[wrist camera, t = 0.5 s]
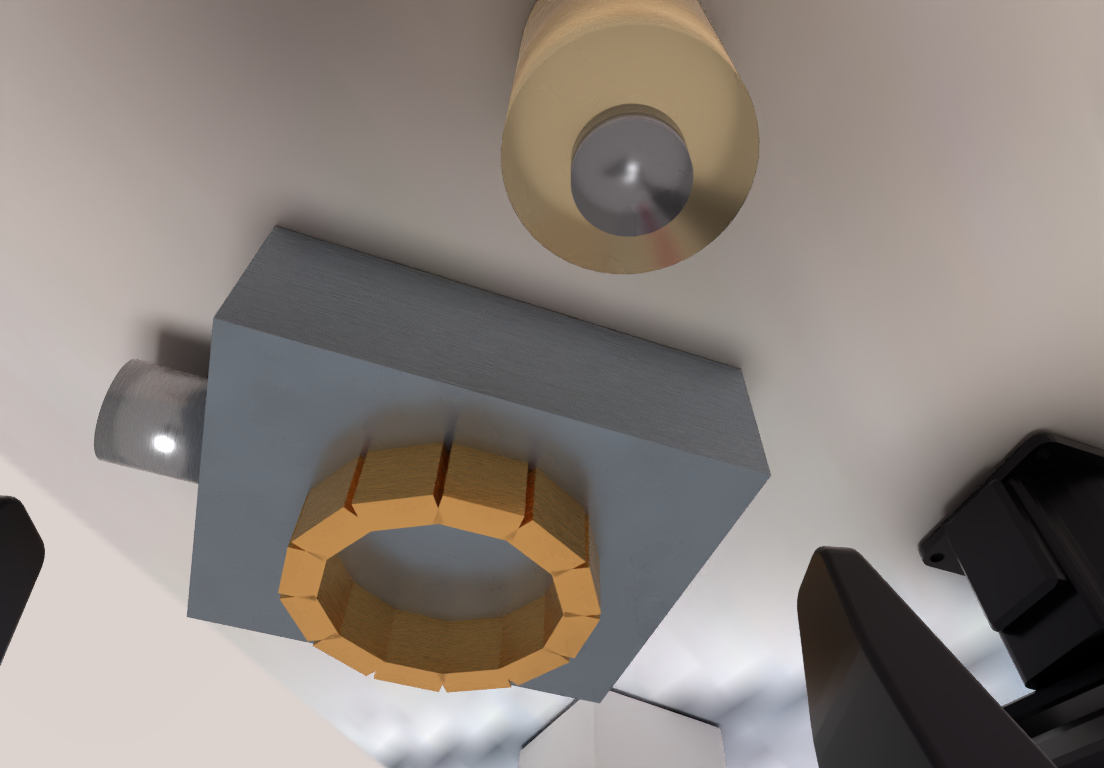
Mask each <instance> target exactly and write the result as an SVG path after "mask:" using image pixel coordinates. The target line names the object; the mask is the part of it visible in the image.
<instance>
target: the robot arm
mask: <svg viewBox="0 0 1104 768" xmlns="http://www.w3.org/2000/svg"><path fill="white" fill-rule="evenodd" d="M1043 448H1044V449H1043ZM919 554H920V556H921V558H922V561H923V562H924V564H925V565H928V566H930V567H934V568H938V569H942V570H945V571H949V572H953V573H956V574H960V575H964V576H966V578H967V580H968V582H969V584H970V586H971V588H972V590H973V592H974V594H975V596H976V598H977V600H978V602H979V604H980V606H981V608H982V610H983V612H984V614H985V616H986V618H987V620H988V623H989V625H990V627H991V628H992V629H993V630H994V631H997V632H998V633H999V635H1000V637H1001V639H1002V641H1003V643H1004V645H1005V647H1006V649H1007V651H1008V653H1009V655H1010V657H1011V659H1012V661H1013V663H1014V665H1015V667H1016V669H1017V671H1018V673H1019V675H1020V677H1021V679H1022V681H1023V683H1024V685H1025V687H1027V688H1029V689H1033V690H1036V691H1034V692H1032V693H1029V694H1027V695H1025V696H1023V697H1021V698H1019V699H1017V700H1014V701H1012V702H1010V703H1008V704H1006V705H1004V706H1000V705H999V704H998V702H997V701H996V700H995V699H994V698H993V697H992V696H991V695H990V694H989V693H988V692H987V690H986V689H985V688H984V687H983V686H982V685H981V684H980V683H979V682H978V681H977V680H976V679H975V677H974V676H973V675H972V674H971V673H970V672H969V671H968V670H967V669H966V668H965V667H964V666H963V664H962V663H961V662H960V661H959V660H958V659H957V658H956V657H955V656H954V655H953V654H952V653H951V651H950V650H949V649H948V648H947V647H946V646H945V645H944V644H943V643H942V642H941V641H940V639H939V638H938V637H937V636H936V635H935V634H934V633H933V632H932V631H931V630H930V629H929V628H928V626H927V625H926V624H925V623H924V622H923V621H922V620H921V619H920V618H919V617H918V616H917V615H916V613H915V612H914V611H913V610H912V609H911V608H910V607H909V606H908V605H907V604H906V603H905V602H904V600H903V599H902V598H901V597H900V596H899V595H898V594H897V593H896V592H895V591H894V590H893V589H892V587H891V586H890V585H889V584H888V583H887V582H886V581H885V580H884V579H883V578H882V577H881V575H880V574H879V573H878V572H877V571H876V570H875V569H874V568H873V567H872V566H871V565H870V564H869V562H868V561H867V560H866V559H865V558H864V557H863V556H862V555H861V554H860V553H859V552H857V551H856V550H854V549H852V548H845V547H829V546H822V547H819V548H817V549H816V550H815V552H814V554H813V555H812V558H811V561H810V563H809V566H808V568H807V571H806V573H805V576H804V579H803V581H802V584H801V586H800V589H799V592H798V599H797V612H798V621H799V629H800V637H801V646H802V654H803V662H804V671H805V679H806V688H807V696H808V704H809V713H810V721H811V728H812V735H813V742H814V747H815V751H816V756H817V761H818V766H819V768H1104V450H1101V449H1098V448H1095V447H1092V446H1088V445H1085V444H1082V443H1079V442H1076V441H1073V440H1070V439H1066V438H1063V437H1060V436H1057V435H1054V434H1050V433H1042V434H1038V435H1035V436H1033V437H1031V438H1030V439H1029V440H1027V441H1026V442H1025V443H1024V444H1023V445H1022V446H1021V447H1020V448H1019V449H1018V450H1017V451H1016V452H1015V453H1014V454H1013V455H1012V456H1011V457H1010V458H1009V459H1008V460H1007V461H1006V462H1005V463H1004V464H1003V465H1002V466H1001V467H1000V468H999V469H998V470H997V471H996V472H995V473H994V474H993V475H992V476H991V477H990V478H989V479H988V480H987V481H986V482H985V483H984V484H983V485H982V486H981V487H980V488H979V489H978V490H977V491H976V492H975V493H974V494H973V495H972V496H971V497H970V498H969V499H968V500H967V501H966V502H965V503H964V504H963V505H962V506H961V507H960V508H959V509H958V510H957V511H956V512H955V513H954V514H953V515H952V516H951V517H950V518H949V519H948V520H947V521H946V522H945V523H944V524H943V525H942V526H941V527H940V528H939V529H938V530H937V531H936V532H935V533H934V534H933V535H932V536H931V537H930V538H929V539H928V540H927V541H926V542H925V543H924V544H923V545H922V546H921V547H920V549H919ZM44 555H45V548H44V543H43V541H42V539H41V537H40V535H39V533H38V531H37V529H36V528H35V526H34V524H33V522H32V520H31V518H30V516H29V515H28V513H27V511H26V510H25V507H24V505H23V504H22V503H21V501H20V500H18V499H16V498H15V497H12V496H0V665H1V663H2V660H3V658H4V656H5V653H6V651H7V648H8V646H9V644H10V641H11V639H12V637H13V634H14V632H15V630H16V627H17V625H18V622H19V620H20V617H21V615H22V613H23V611H24V608H25V606H26V603H27V601H28V599H29V596H30V594H31V592H32V589H33V587H34V584H35V582H36V580H37V577H38V575H39V573H40V570H41V568H42V565H43V562H44Z"/></svg>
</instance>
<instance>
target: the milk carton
mask: <svg viewBox="0 0 1104 768" xmlns="http://www.w3.org/2000/svg"><path fill="white" fill-rule="evenodd" d="M519 768H727V766H726V759H725V753H724V746H723V740H722V734H721V730H720V729H719V728H717V727H715V726H712V725H709V724H706V723H704V722H701V721H698V720H695V719H692V718H689V717H686V716H683V715H680V714H677V713H674V712H671V711H668V710H665V709H662V708H659V707H656V706H653V705H651V704H648V703H645V702H642V701H639V700H636V699H633V698H630V697H627V696H624V695H621V694H618V693H615V692H612V691H609V692H608V693H607V695H606V696H605V697H604V699H603V700H602V701H601V703H595V702H590V701H585V700H581V699H580V700H578V701H577V702H576V703H575V704H574V705H573V706H572V707H570V708H569V709H568V710H567V711H566V712H565V713H563V714H562V715H561V716H560V717H559V718H558V719H557V720H555V721H554V722H553V723H552V724H551V725H550V726H548V727H547V728H546V729H545V730H544V731H543V732H542V733H540V734H539V735H538V736H537V737H536V738H535V739H534V740H532V741H531V742H530V743H529V744H528V745H527V746H526V747H524V748H523V749H522V750H521V751H520V755H519Z"/></svg>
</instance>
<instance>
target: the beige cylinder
mask: <svg viewBox="0 0 1104 768" xmlns="http://www.w3.org/2000/svg"><path fill="white" fill-rule="evenodd" d="M758 157H759V131H758V122H757V118H756V114H755V110H754V106H753V104H752V101H751V99H750V96H749V94H748V91H747V89H746V88H745V86H744V84H743V82H742V80H741V78H740V77H739V75H738V73H737V71H736V69H735V68H734V66H733V64H732V62H731V60H730V59H729V57H728V55H727V53H726V51H725V50H724V48H723V46H722V44H721V42H720V40H719V39H718V37H717V35H716V33H715V31H714V30H713V28H712V26H711V24H710V22H709V21H708V19H707V17H706V15H705V13H704V11H703V10H702V8H701V6H700V4H699V3H698V1H697V0H538V1H537V2H536V4H535V6H534V7H533V9H532V11H531V13H530V15H529V18H528V20H527V23H526V26H525V29H524V33H523V37H522V42H521V47H520V52H519V57H518V62H517V67H516V72H515V77H514V82H513V87H512V92H511V97H510V102H509V107H508V112H507V117H506V122H505V127H504V132H503V138H502V147H501V166H502V174H503V179H504V185H505V188H506V191H507V194H508V197H509V200H510V202H511V204H512V206H513V209H514V211H515V213H516V214H517V216H518V217H519V219H520V221H521V222H522V224H523V225H524V226H525V228H526V229H527V230H528V231H529V232H530V234H531V235H532V236H533V237H534V238H535V239H536V240H537V241H538V242H539V243H541V244H542V245H543V246H544V247H545V248H547V249H548V250H549V251H551V252H552V253H554V254H555V255H556V256H558V257H560V258H562V259H564V260H566V261H568V262H569V263H572V264H574V265H577V266H580V267H582V268H585V269H589V270H593V271H597V272H603V273H611V274H635V273H644V272H649V271H654V270H659V269H662V268H665V267H668V266H671V265H674V264H676V263H678V262H680V261H682V260H685V259H687V258H689V257H690V256H692V255H694V254H695V253H697V252H699V251H700V250H702V249H703V248H704V247H706V246H707V245H708V244H709V243H711V242H712V241H713V240H714V239H715V238H716V237H717V236H719V235H720V234H721V233H722V232H723V231H724V230H725V229H726V227H727V226H728V225H729V224H730V222H731V221H732V220H733V219H734V217H735V216H736V215H737V213H738V211H739V210H740V208H741V207H742V205H743V203H744V201H745V199H746V197H747V195H748V193H749V191H750V189H751V186H752V183H753V179H754V176H755V173H756V168H757V163H758Z"/></svg>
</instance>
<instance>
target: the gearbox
mask: <svg viewBox="0 0 1104 768" xmlns="http://www.w3.org/2000/svg"><path fill="white" fill-rule="evenodd" d="M94 449H95V454H96V456H97V458H98V459H99V460H102V461H106V462H110V463H114V464H118V465H122V466H126V467H131V468H135V469H139V470H143V471H147V472H151V473H155V474H159V475H164V476H168V477H172V478H176V479H180V480H184V481H188V482H193V483H197V484H199V486H198V497H197V508H196V520H195V531H194V542H193V554H192V565H191V576H190V587H189V599H188V610H187V617H190V618H195V619H199V620H204V621H209V622H214V623H219V624H223V625H228V626H233V627H238V628H242V629H247V630H252V631H257V632H261V633H266V634H271V635H276V636H280V637H285V638H290V639H295V640H299V641H304V642H309V643H313V646H314V647H316V648H318V649H319V650H321V651H323V652H325V653H326V654H328V655H330V656H332V657H334V658H335V659H337V660H339V661H341V662H342V663H344V664H346V665H348V666H349V667H351V668H353V669H355V670H357V671H358V672H360V673H362V674H364V675H365V676H367V675H369V674H371V673H373V672H375V675H374V679H378V680H383V681H388V682H393V683H397V684H402V685H407V686H412V687H417V688H422V689H427V690H432V691H437V692H439V690H440V688H441V686H442V684H443V686H444V688H445V690H446V692H458V691H471V690H483V689H496V688H508V687H511V685H514V686H519V687H523V688H528V689H533V690H538V691H542V692H547V693H552V694H557V695H561V696H566V697H571V698H576V699H581V700H585V701H590V702H595V703H601V701H602V700H603V699H604V697H605V696H606V695H607V693H608V692H609V691H610V689H611V688H612V687H613V685H614V684H615V683H616V681H617V680H618V679H619V677H620V676H621V675H622V673H623V672H624V671H625V669H626V668H627V667H628V665H629V664H630V663H631V661H632V660H633V659H634V657H635V656H636V655H637V653H638V652H639V651H640V649H641V648H642V647H643V645H644V644H645V643H646V641H647V640H648V639H649V637H650V636H651V635H652V633H653V632H654V631H655V629H656V628H657V627H658V625H659V624H660V623H661V621H662V620H663V619H664V617H665V616H666V615H667V613H668V612H669V611H670V609H671V608H672V607H673V605H674V604H675V603H676V601H677V600H678V599H679V597H680V596H681V595H682V593H683V592H684V591H685V589H686V588H687V587H688V585H689V584H690V583H691V581H692V580H693V579H694V577H695V576H696V575H697V573H698V572H699V571H700V569H701V568H702V567H703V565H704V564H705V563H706V561H707V560H708V559H709V557H710V556H711V555H712V553H713V552H714V551H715V549H716V548H717V547H718V545H719V544H720V543H721V541H722V540H723V539H724V537H725V536H726V535H727V533H728V532H729V531H730V529H731V528H732V527H733V525H734V524H735V523H736V521H737V520H738V519H739V517H740V516H741V515H742V513H743V512H744V511H745V509H746V508H747V507H748V505H749V504H750V503H751V501H752V500H753V499H754V497H755V496H756V495H757V493H758V492H759V491H760V489H761V488H762V487H763V485H764V484H765V483H766V481H767V480H768V479H769V477H770V476H771V474H770V470H769V467H768V463H767V459H766V456H765V452H764V449H763V445H762V442H761V438H760V434H759V431H758V427H757V424H756V420H755V417H754V413H753V410H752V406H751V402H750V399H749V395H748V392H747V388H746V385H745V381H744V377H743V374H742V370H741V369H737V368H734V367H731V366H728V365H724V364H721V363H718V362H715V361H711V360H708V359H705V358H702V357H698V356H695V355H692V354H689V353H685V352H682V351H679V350H676V349H672V348H669V347H666V346H663V345H660V344H656V343H653V342H650V341H647V340H643V339H640V338H637V337H634V336H630V335H627V334H624V333H621V332H617V331H614V330H611V329H608V328H604V327H601V326H598V325H595V324H592V323H588V322H585V321H582V320H579V319H575V318H572V317H569V316H566V315H562V314H559V313H556V312H553V311H549V310H546V309H543V308H540V307H536V306H533V305H530V304H527V303H524V302H520V301H517V300H514V299H511V298H507V297H504V296H501V295H498V294H494V293H491V292H488V291H485V290H481V289H478V288H475V287H472V286H468V285H465V284H462V283H459V282H455V281H452V280H449V279H446V278H443V277H439V276H436V275H433V274H430V273H426V272H423V271H420V270H417V269H413V268H410V267H407V266H404V265H400V264H397V263H394V262H391V261H387V260H384V259H381V258H378V257H375V256H371V255H368V254H365V253H362V252H358V251H355V250H352V249H349V248H345V247H342V246H339V245H336V244H332V243H329V242H326V241H323V240H319V239H316V238H313V237H310V236H306V235H303V234H300V233H297V232H294V231H290V230H287V229H284V228H281V227H277V226H275V227H274V228H273V230H272V231H271V233H270V234H269V236H268V237H267V239H266V240H265V242H264V243H263V245H262V246H261V248H260V249H259V251H258V252H257V254H256V255H255V257H254V258H253V260H252V261H251V263H250V264H249V266H248V267H247V269H246V270H245V272H244V273H243V275H242V276H241V278H240V279H239V281H238V282H237V284H236V285H235V287H234V288H233V290H232V291H231V293H230V294H229V295H228V297H227V298H226V300H225V301H224V303H223V304H222V306H221V307H220V309H219V310H218V312H217V313H216V315H215V316H214V318H213V328H212V340H211V351H210V362H209V373H208V378H205V377H201V376H198V375H194V374H190V373H186V372H183V371H179V370H175V369H171V368H168V367H164V366H160V365H157V364H153V363H149V362H145V361H142V360H138V359H132V360H130V361H129V362H127V363H126V364H125V365H124V366H123V367H122V368H121V370H120V371H119V372H118V374H117V375H116V377H115V378H114V380H113V382H112V384H111V385H110V387H109V389H108V392H107V394H106V396H105V398H104V401H103V404H102V406H101V410H100V413H99V416H98V420H97V424H96V430H95V437H94Z"/></svg>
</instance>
